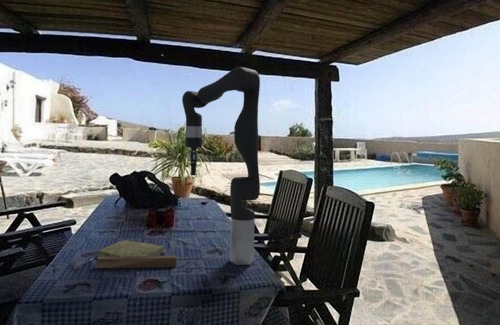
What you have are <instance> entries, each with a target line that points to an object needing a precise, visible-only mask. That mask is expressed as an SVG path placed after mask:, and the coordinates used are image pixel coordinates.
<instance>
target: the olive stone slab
mask: <svg viewBox="0 0 500 325" xmlns="http://www.w3.org/2000/svg"><path fill="white" fill-rule="evenodd" d="M164 252H165V247H164V246H163V245H159V244H154V243H146V242H140V241H130V240H127V239H125V240H122V241H118V242H115V243H113V244H110V245H109V246H106V247H104V248H102V249H101V250H99V251H98V254H97V256H96V257H97V258H98V257H127V256H160V255H161V254H162V253H164Z"/></svg>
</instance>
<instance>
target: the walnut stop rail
mask: <svg viewBox="0 0 500 325" xmlns="http://www.w3.org/2000/svg"><path fill="white" fill-rule="evenodd" d="M177 260H178V256H177V255H157V256H127V257H97V258H96V270H97V269H98V268H100V269H101V268H110V269H137V268H138V269H139V268H140V269H141V268H142V269H143V268H144V269H145V268H177V265H178V264H177V263H178V261H177ZM100 269H98V270H100ZM101 270H102V269H101Z"/></svg>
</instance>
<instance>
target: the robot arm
mask: <svg viewBox="0 0 500 325" xmlns="http://www.w3.org/2000/svg"><path fill="white" fill-rule="evenodd" d="M260 88H261V78H260V75H259V73H258V71H256V70H255V69H252V68H247V67H244V66H243V67H242V66H237V67H235V68H233V69H231V70H230V71H229V72H227V73H225V74H224V75H223V76H222V77H220V78H219V79H217V80H216V81H214V82H211V83H210V84H207V85H205V86H202V87H201V88H200V89H198V91H191V90H187V91H185V92H184V93H183V95H182V99H181V102H182V106H183V109H184V114H185V134H184V140H185V141H184V146H185V148H190V150H189V151H188V156H189V164H190V165H189V166H190V175H191V176H192V177H193V176H196V175H197V166H198V165H197V164H198V163H197V162H198V160H199V159H198V156H199V151H197V148H202V147H203V128H202V127H203V126H202V125H203V121H202V120H203V116H202V115H201V114H200V113H198V112H196V109H202V108H205V107H206V106H207V105H208V104H209V103H212V102H215V101H217V100H219V99H221V97H222V96H223V95H224V93H227V92H232V91H237V92H241V93H243V106H242V109H241V110H240V113H239V114H238V116H237V118H236V121H235V123H234V128H233V129H234V130H233V133H234V134H233V135H234V136H233V138H234V144H235V148H236V149H237V151H238V153H239V154H240V156H241V157H242V159H243V161H244V163H245V165H246V170H247V176H235V177H233V178H231V181H230V187H229V189H230V235H229V236H230V240H229V242H230V243H229V246H230V247H229V262H230V263H231V264H234V266H241V265H244V266H246V265H252V263H253V262H254V248H255V244H254V243H255V222H256V221H255V220H256V219H255V216H256V214H255V211H254V210H253V209H251V208H248V207H246V206H243V202H246V201H257V200H258V198H259V197H260V192H261V184H260V183H261V182H260V172H259V171H260V170H259V155H258V154H259V121H258V120H259V119H258V117H259V98H260V90H261V89H260Z"/></svg>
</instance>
